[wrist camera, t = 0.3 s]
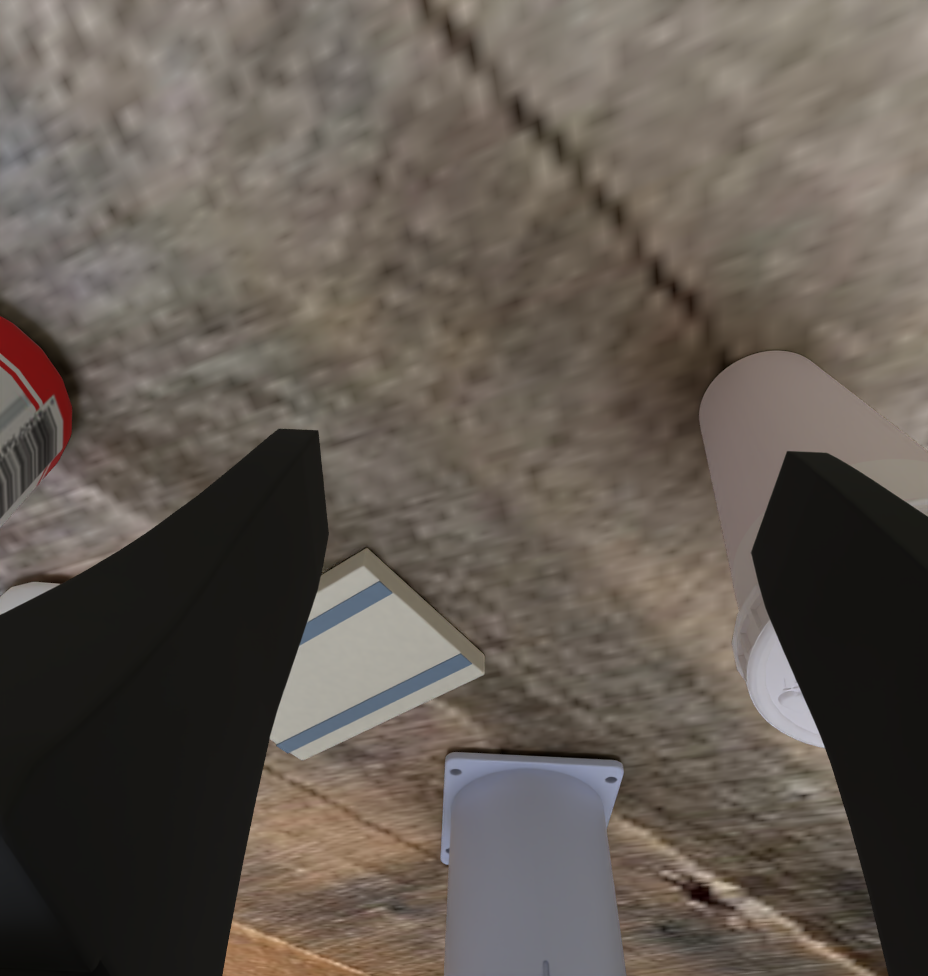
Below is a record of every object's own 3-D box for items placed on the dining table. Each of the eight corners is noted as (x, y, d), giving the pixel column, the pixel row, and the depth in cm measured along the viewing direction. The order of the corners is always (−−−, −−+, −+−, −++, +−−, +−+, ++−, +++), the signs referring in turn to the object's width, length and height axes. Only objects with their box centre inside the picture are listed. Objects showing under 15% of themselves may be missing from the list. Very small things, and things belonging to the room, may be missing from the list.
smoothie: (635, 487, 23) (772, 978, 12) (679, 298, 19) (941, 755, 8) (831, 498, 23) (1153, 998, 12) (913, 310, 19) (1498, 784, 8)
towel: (485, 654, 28) (485, 676, 27) (306, 741, 32) (301, 763, 31) (367, 546, 25) (362, 567, 24) (184, 656, 29) (175, 678, 28)
